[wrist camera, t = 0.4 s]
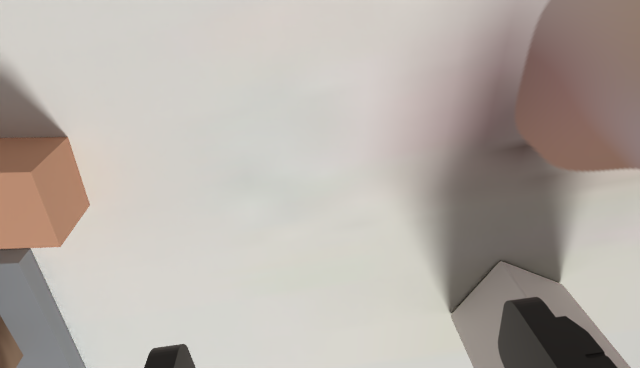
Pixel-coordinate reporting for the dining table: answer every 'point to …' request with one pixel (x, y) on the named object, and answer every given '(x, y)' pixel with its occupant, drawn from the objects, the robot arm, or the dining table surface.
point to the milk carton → (487, 307)
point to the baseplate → (33, 314)
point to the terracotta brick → (39, 192)
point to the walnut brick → (8, 348)
